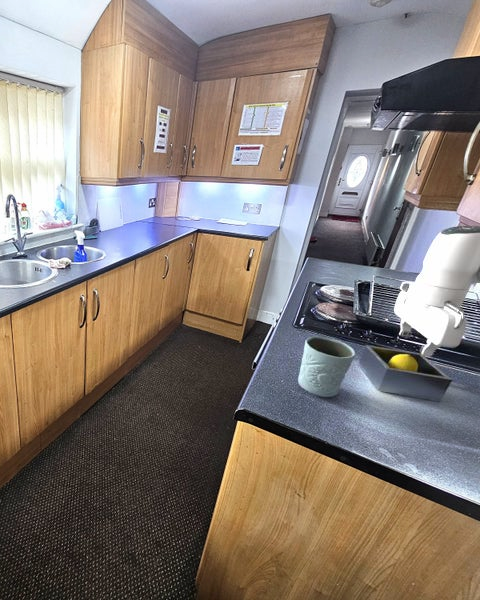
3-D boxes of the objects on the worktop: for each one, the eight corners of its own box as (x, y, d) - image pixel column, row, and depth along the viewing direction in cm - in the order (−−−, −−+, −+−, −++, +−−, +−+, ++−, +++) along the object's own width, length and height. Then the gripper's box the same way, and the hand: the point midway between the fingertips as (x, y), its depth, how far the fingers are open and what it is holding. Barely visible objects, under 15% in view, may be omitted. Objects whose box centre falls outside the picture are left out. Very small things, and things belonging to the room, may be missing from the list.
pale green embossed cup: (320, 402, 79) (335, 361, 74) (284, 378, 88) (296, 339, 83) (350, 393, 82) (366, 353, 77) (312, 370, 91) (324, 333, 86)
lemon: (410, 379, 87) (422, 354, 84) (410, 389, 84) (423, 363, 80) (383, 371, 91) (394, 346, 88) (381, 380, 87) (393, 354, 84)
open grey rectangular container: (411, 373, 91) (421, 353, 89) (440, 402, 80) (452, 379, 78) (357, 364, 95) (365, 344, 92) (377, 390, 84) (387, 368, 81)
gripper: (486, 313, 68) (457, 369, 73) (428, 283, 86) (407, 330, 91) (447, 309, 70) (422, 364, 75) (398, 280, 88) (380, 326, 93)
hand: (413, 345), depth 83 cm, fingers open, 8 cm apart
